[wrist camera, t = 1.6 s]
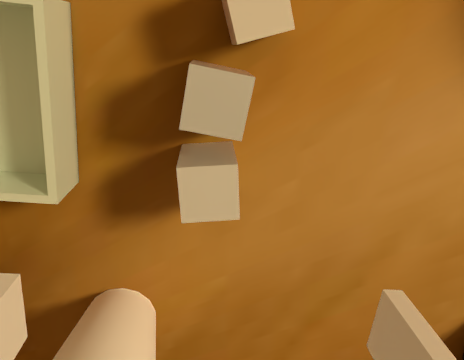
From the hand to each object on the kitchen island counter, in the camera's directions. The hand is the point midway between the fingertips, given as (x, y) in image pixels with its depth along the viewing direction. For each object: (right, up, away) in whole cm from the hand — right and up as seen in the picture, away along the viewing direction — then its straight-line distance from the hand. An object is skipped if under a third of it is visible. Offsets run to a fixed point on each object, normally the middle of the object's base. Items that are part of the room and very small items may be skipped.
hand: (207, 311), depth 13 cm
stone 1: (0, +12, +14) cm, 19 cm away
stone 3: (+2, +17, +13) cm, 21 cm away
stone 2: (-1, +6, +17) cm, 18 cm away
